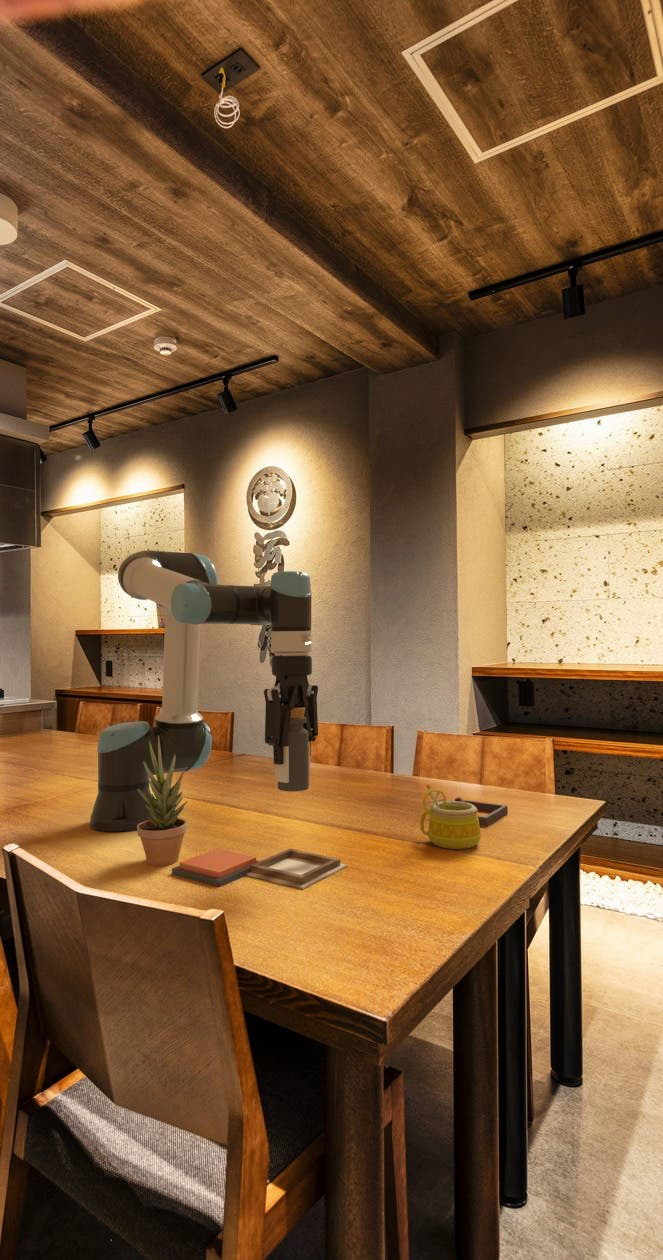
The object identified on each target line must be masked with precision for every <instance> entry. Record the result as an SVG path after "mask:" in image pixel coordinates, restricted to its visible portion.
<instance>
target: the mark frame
mask: <svg viewBox="0 0 663 1260" xmlns="http://www.w3.org/2000/svg"><path fill="white" fill-rule="evenodd" d="M258 861H259V862H257V863H254V864H252V865H250V872H249V873H246V875H245V876H248V877H253V878H257V879H261V880H265V881H268V882H272V883H277V884H281V885H284V886H289V887H292V888H296V889H300V890H305V889H307V888H309V887H311V886H313V885H315V884H317V883H319V882H321V881H322V880H324V879H326V878H328V877H330V876H332V875H333V874H336V873H339V872H341V871H342V870H344V869H345V868H347V867H349V866H348V864H346V863H345V864H344V863H341V858H337V857H332V856H327V855H322V854H318V853H317V854H316V853H313V852H309V851H302V850H298V849H295V848H288V849H285V850H283V851H281V852H278V853H277V854H273V855H271V856H268V857H267V858H264V859H261V860H258Z"/></svg>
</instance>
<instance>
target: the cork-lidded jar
mask: <svg viewBox="0 0 663 1260" xmlns="http://www.w3.org/2000/svg"><path fill="white" fill-rule="evenodd" d="M304 712H305V708H304V707H294V709H293V710H291V715H290V721H289V727H288V733H287V739H286V744H285V746H289V782H288V783H284V782H277V789H278V790H279V791H283V792H292V793H293V792H302V791H306V790H308V789H309V788H310V776H309V739H308V731H307V730H306V729H304V728H303V724H304V723H306V717H304ZM279 739H280V738H279Z"/></svg>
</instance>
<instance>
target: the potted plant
mask: <svg viewBox="0 0 663 1260" xmlns="http://www.w3.org/2000/svg"><path fill="white" fill-rule="evenodd" d="M149 747H150V753H151V758H152V763H153V767H154V770H155V774H156V775H152V773H151V772H150V770H149V769H148V767H147V765H146V764H145V762H144V761H143V762H144V766H145V769H146V771H147V774H148V776H149V787H150V788H151V789H150V790H152V793H151V795H152V797H151V796H149V795H147V794H146V793H145V792H143V793H144V794H143V793H142V792H141V791H140V790H139V789H138V792H139V793H140V795H141V796H142V797H143V798H144V800H145V801H146V802H147V803H148V804H149V805H150V808H149V807H148V806H147V805H146V808H147V809H148V810H149V811H150V814H151V816H152V818H153V819H152V818H151V817H149V816H148V818H149V820H148V821H145V822H142V823H140V824H138V825H137V829H136V830H137V831H136V832H137V836H138V837H140V841H141V844H142V849H143V851H144V854H145V858H146V862H147V864H148V865H150V866H152V867H153V866H154V867H162V866H168V865H173V864H175V863H177V862H178V861H179V857H180V853H181V849H182V844H183V840H184V838H185V837H184V836H185V833H186V832H187V831H188V822H187V820H186V819H184V818H182V817H181V818H180V817H178V816H179V815H181V812H182V811H183V810H184V809H185V807H186V804H187V803H188V801H185V802H184V803H183V804H181V806H179V807H178V805H179V804H180V803H181V802H182V801H183V797H182V795H183V791H181V792H180V793H179V791H180V789H181V785H182V784H181V782H182V779H183V777H184V773H185V772H184V770H183V772H182V771H181V774H180V776H179V778H178V779H177V781H176V783H175V784H174V785H172V782H173V774H174V772H173V771H174V765H175V755H174V758H173V760H172V763H171V766H170V769H169V771H168V772H167V773H166V777H165V774H164V771H163V764H162V759H161V749H160V740H159V735H158V763H159V768H158V764H157V761H156V758H155V755H154V752H153V749H152V746H151V743H150V741H149ZM155 777H156V778H155ZM149 800H150V801H151V802H152V803H153V804H152V803H151V802H150V801H149ZM177 807H178V808H177Z"/></svg>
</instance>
